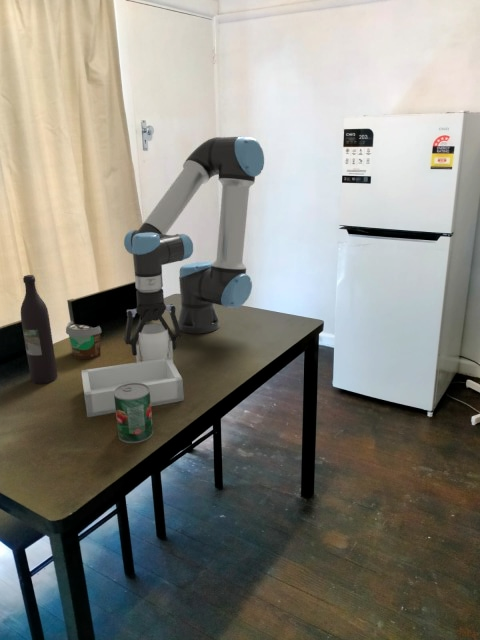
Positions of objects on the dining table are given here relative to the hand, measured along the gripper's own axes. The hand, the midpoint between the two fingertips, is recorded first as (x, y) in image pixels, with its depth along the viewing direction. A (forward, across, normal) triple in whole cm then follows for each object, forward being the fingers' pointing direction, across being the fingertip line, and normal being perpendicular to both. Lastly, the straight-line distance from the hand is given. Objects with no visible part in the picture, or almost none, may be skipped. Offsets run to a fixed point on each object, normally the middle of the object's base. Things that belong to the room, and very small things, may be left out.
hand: (155, 362), depth 151 cm
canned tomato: (+2, -11, -35) cm, 37 cm away
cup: (+2, 0, 0) cm, 2 cm away
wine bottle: (+2, -31, +3) cm, 31 cm away
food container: (+2, -20, +16) cm, 26 cm away
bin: (+1, -9, -16) cm, 18 cm away
